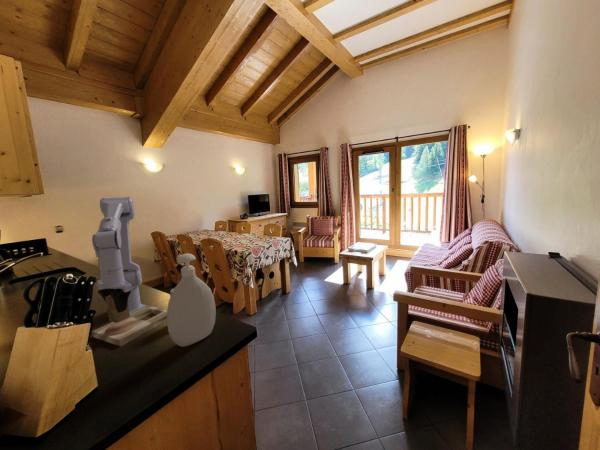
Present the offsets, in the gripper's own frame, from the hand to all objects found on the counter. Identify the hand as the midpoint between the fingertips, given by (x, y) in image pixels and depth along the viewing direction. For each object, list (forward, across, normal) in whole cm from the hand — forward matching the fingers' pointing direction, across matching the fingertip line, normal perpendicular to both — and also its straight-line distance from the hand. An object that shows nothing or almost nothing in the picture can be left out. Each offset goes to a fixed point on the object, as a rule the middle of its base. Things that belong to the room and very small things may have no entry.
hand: (117, 310), depth 81 cm
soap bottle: (+8, +25, +6) cm, 27 cm away
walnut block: (+3, 0, 0) cm, 3 cm away
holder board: (+8, 0, +5) cm, 10 cm away
